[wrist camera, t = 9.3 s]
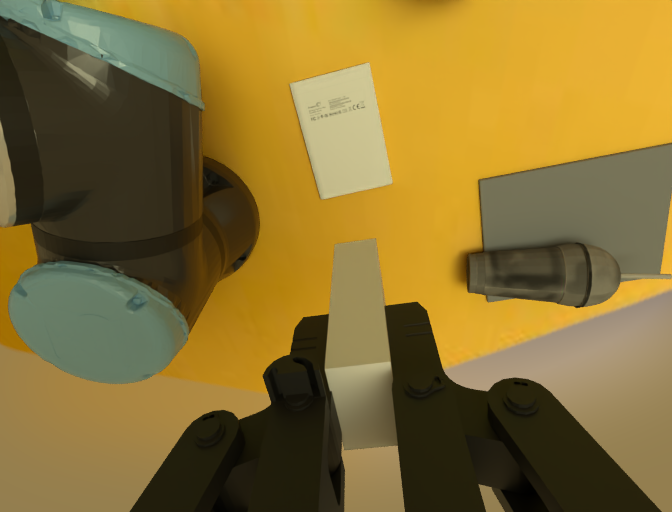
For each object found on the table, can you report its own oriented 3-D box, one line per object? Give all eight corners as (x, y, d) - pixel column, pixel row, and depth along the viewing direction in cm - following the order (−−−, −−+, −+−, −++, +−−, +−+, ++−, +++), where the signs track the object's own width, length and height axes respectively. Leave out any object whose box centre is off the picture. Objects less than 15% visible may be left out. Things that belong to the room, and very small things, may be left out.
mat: (486, 300, 54) (488, 302, 53) (478, 179, 47) (479, 181, 46) (657, 273, 51) (659, 276, 51) (675, 142, 44) (678, 143, 44)
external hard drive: (321, 195, 49) (290, 82, 44) (392, 179, 48) (369, 61, 42) (320, 200, 47) (288, 84, 42) (393, 184, 46) (369, 62, 41)
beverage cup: (465, 302, 53) (647, 308, 49) (471, 307, 46) (685, 314, 42) (465, 244, 53) (646, 244, 49) (471, 239, 46) (684, 239, 42)
